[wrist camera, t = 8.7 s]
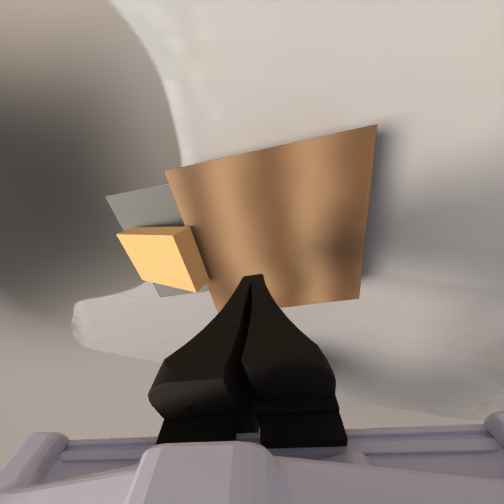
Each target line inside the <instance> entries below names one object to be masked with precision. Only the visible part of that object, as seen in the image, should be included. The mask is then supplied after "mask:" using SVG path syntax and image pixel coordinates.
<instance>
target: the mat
mask: <svg viewBox="0 0 504 504" xmlns="http://www.w3.org/2000/svg"><path fill="white" fill-rule="evenodd" d="M106 199H107V201H108V203H109V204H110V206H111V208H112V210H113V212H114V213H115V215H116V217H117V219H118V221H119V223H120V225H121V226H122V228H123V230H124V231H126V230H128V229H131V228H133V227H183V226H185V225H184V222H183V219H182V217H181V214H180V211H179V209H178V206H177V203H176V201H175V198H174V196H173V193H172V190H171V188H170V185H169V183H167V184H162V185H157V186H153V187H148V188H143V189H139V190H134V191H129V192H124V193H120V194H115V195H110V196H106ZM152 283H153V285H154V287H155V288H156V290H157V292H158V294H159V296H160V297H167V296H174V295H181V294H189V293H196V292H192V291H188V290H184V289H179V288H175V287H171V286H166V285H162V284H158V283H154V282H152ZM204 291H209V288H208V285H207V283H206V284H205V285H204V286H203V287H202V288H201V289H200V290H199V291H198V292H204Z"/></svg>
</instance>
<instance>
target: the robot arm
mask: <svg viewBox="0 0 504 504" xmlns="http://www.w3.org/2000/svg"><path fill="white" fill-rule="evenodd" d="M335 388H336V380H335V376H334V373H333V371H332V369H331V367H330V365H329V363H328V361H327V359H326V358H325V356H324V354H323V353H322V351H321V350H320V348H319V347H318V345H317V344H315V343H314V342H313V341H312V340H310V339H309V338H308V337H307V336H306V335H305V334H303V333H302V332H301V331H300V330H299V329H298V328H297V327H296V326H295V325H294V324H293V323H292V322H291V321H290V320H289V319H288V318H287V316H286V315H285V314H284V313H283V312H282V310H281V309H280V308H279V306H278V305H277V304H276V302H275V300H274V299H273V297H272V296H271V294H270V292H269V290H268V288H267V286H266V284H265V280H264V275H263V274H256V275H249V276H243V278H242V279H241V281H240V283H239V285H238V286H237V288H236V290H235V291H234V293H233V294H232V296H231V297H230V299H229V300H228V302H227V303H226V304H225V306H224V307H223V308H222V310H221V311H220V312H219V313H218V314H217V316H216V317H215V318H214V319H213V320H212V321H211V322H210V323H209V324H208V325H207V326H206V327H205V328H204V329H203V330H202V331H201V332H200V333H198V334H197V335H196V336H195V337H194V338H193V339H191V340H190V341H189V342H188V343H186V344H185V345H184V346H183V347H181V348H180V349H178V350H177V351H176V352H174V353H173V354H171V355H170V356H169V357H167V358H166V359H165V360H164V362H163V363H162V366H161V367H160V369H159V371H158V374H157V376H156V378H155V380H154V383H153V385H152V387H151V389H150V391H149V393H148V398H149V401H150V403H151V405H152V406H153V407H154V408H155V409H156V410H157V412H158V413H159V414H160V415H161V416H162V417H163V418H164V422H163V425H162V427H161V430H160V433H159V436H158V437H137V438H136V437H134V438H108V439H83V440H69V438H68V437H67V436H65V435H64V434H62V433H58V432H34V433H32V434H30V435H29V436H28V438H27V439H26V440H25V441H24V443H23V444H22V445H21V446H20V447H19V449H18V450H17V451H16V452H15V453H14V455H13V456H12V457H11V458H10V460H9V461H8V462H7V463H6V464H5V465H4V467H3V468H2V469H1V470H0V504H504V411H501V412H496V413H493V414H490V415H489V416H488V417H487V418H486V419H485V421H484V424H471V425H446V426H418V427H393V428H366V429H344V426H343V422H342V419H341V416H340V414H339V406H338V402H337V399H336V396H335Z"/></svg>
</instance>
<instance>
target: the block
mask: <svg viewBox="0 0 504 504" xmlns="http://www.w3.org/2000/svg"><path fill="white" fill-rule="evenodd" d="M117 236H118V238H119V240H120V242H121V243H122V245H123V247H124V248H125V250H126V252H127V254H128V255H129V257H130V259H131V261H132V262H133V264H134V266H135V268H136V269H137V271H138V273H139V275H140V276H141V278H142V280H145V281H149V282H154V283H158V284H162V285H166V286H171V287H175V288H179V289H184V290H188V291H192V292H196V293H197V292H198V291H199V290H200V289H201V288H202V287H203V286H204V285H205V284H206V283H207V282H208V281H209V277H208V275H207V272H206V269H205V266H204V264H203V261H202V258H201V255H200V253H199V250H198V247H197V244H196V242H195V239H194V236H193V234H192V231H191V228H190V226H183V227H133V228H131V229H128V230H126V231H123V232H121V233H118V234H117Z"/></svg>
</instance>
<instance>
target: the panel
mask: <svg viewBox="0 0 504 504" xmlns="http://www.w3.org/2000/svg"><path fill="white" fill-rule="evenodd" d="M376 133H377V124H376V125H372V126H367V127H362V128H358V129H353V130H349V131H344V132H340V133H335V134H331V135H326V136H322V137H317V138H313V139H308V140H304V141H299V142H294V143H290V144H285V145H281V146H276V147H272V148H267V149H263V150H258V151H254V152H249V153H245V154H240V155H235V156H231V157H226V158H222V159H217V160H213V161H208V162H204V163H199V164H195V165H190V166H186V167H181V168H176V169H172V170H167V171H165V174H166V177H167V180H168V182H169V185H170V188H171V190H172V193H173V196H174V198H175V201H176V203H177V206H178V209H179V211H180V214H181V217H182V219H183V222H184V225H185V226H190V228H191V231H192V234H193V236H194V239H195V242H196V244H197V247H198V250H199V253H200V255H201V258H202V261H203V264H204V266H205V269H206V272H207V275H208V277H209V281H208V282H207V285H208V288H209V291H210V293H211V296H212V299H213V301H214V304H215V306H216V309H217V312H218V313H219V312H220V311H221V310H222V308H223V307H224V306H225V304H226V303H227V302H228V300H229V299H230V297H231V296H232V294H233V293H234V291H235V290H236V288H237V286H238V285H239V283H240V281H241V279H242V278H243V276H249V275H256V274H263V275H264V280H265V284H266V286H267V288H268V290H269V292H270V294H271V296H272V297H273V299H274V300H275V302H276V304H277V305H278V306H279V308H283V307H291V306H300V305H308V304H317V303H325V302H334V301H342V300H351V299H359V294H360V285H361V275H362V266H363V256H364V247H365V237H366V228H367V218H368V209H369V199H370V190H371V180H372V171H373V161H374V152H375V142H376Z"/></svg>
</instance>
